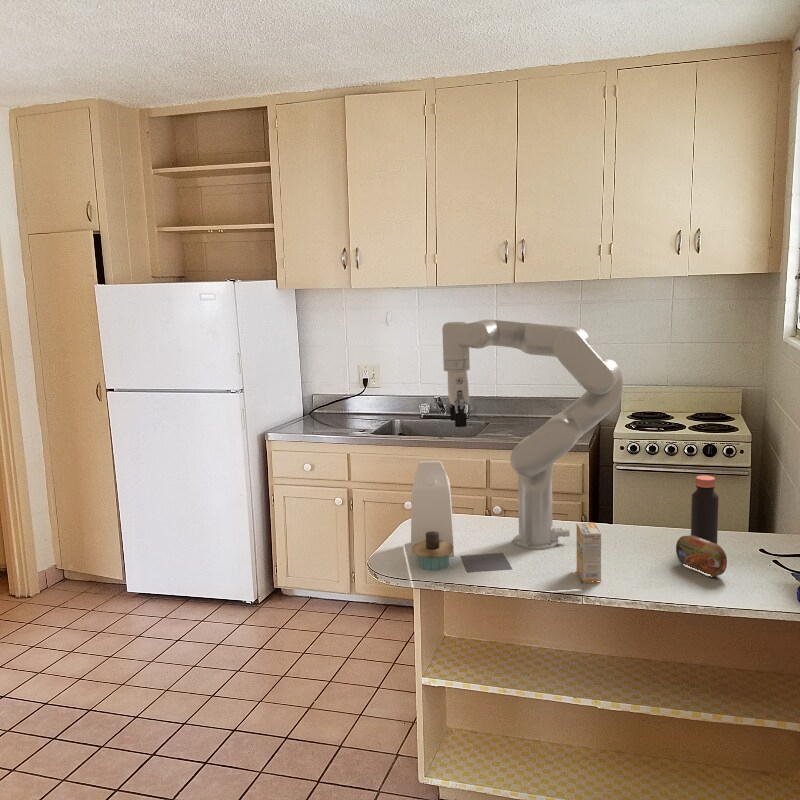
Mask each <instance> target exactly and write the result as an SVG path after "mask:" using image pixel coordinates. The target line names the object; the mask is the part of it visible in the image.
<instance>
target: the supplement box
mask: <svg viewBox="0 0 800 800" xmlns="http://www.w3.org/2000/svg"><path fill="white" fill-rule="evenodd" d="M576 571H577V574H578V575H579V577H580V578H581V581H583V582H592V581H593V582H597V581H601V582H602V532H601V531H600V529H599V528H598V526H597V525H596V524H595V522H578V523H576ZM583 582H582V583H583Z"/></svg>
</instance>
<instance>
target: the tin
mask: <svg viewBox="0 0 800 800" xmlns="http://www.w3.org/2000/svg"><path fill="white" fill-rule="evenodd" d="M675 546H676V547H675V551H676V552H675V553H676V556H677V559H678V561H679V563H680V564H681V565H682V564H685V565H688V566H690V567H692V568H695V569H697V570H700V571H702V572H704V573H707V574H710V575H711V576H712V577H711V578H714V577H719V576H721V575H723V574H724V573H725V572H726V570H727V564H728V560H727V554H726V552H725V551H724V549H723V548H722V546H721V545H719V544H718V543H717V544H715V543H712V542H710V541H707V540H704V539H702V538H699V537H697V536H693V535H691V534H690V535H682V536H681V537H680V538H678V540H677V542H676V545H675Z"/></svg>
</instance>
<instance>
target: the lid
mask: <svg viewBox="0 0 800 800" xmlns="http://www.w3.org/2000/svg"><path fill="white" fill-rule="evenodd" d="M412 552H413V553H414V554H415V555H417V556H416V557H418V556H421V557H427V558H436V557H443V556H446V555H449V554H451V553H452V552H453V545H452V544H451V543H449V542H446V541H440V540H439V533H438V532H434V531H432V532H427V533H426V541H422V542H419V543H416V544H415V545H413V547H412Z"/></svg>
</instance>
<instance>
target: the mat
mask: <svg viewBox="0 0 800 800" xmlns="http://www.w3.org/2000/svg"><path fill="white" fill-rule="evenodd" d="M459 556H460V558H461V561H462V563H463V564H462V565H463V566H464V568H465V571H466V573H481V572H493V571H494V572H495V571H496V572H497V571H510V570H511V571H512V570H513V568H512V565H511V564H510V562H509V560H508V559H507V557H506V556H505V554H504V552H494V553H493V552H492V553H480V554H465V555H459Z"/></svg>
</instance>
